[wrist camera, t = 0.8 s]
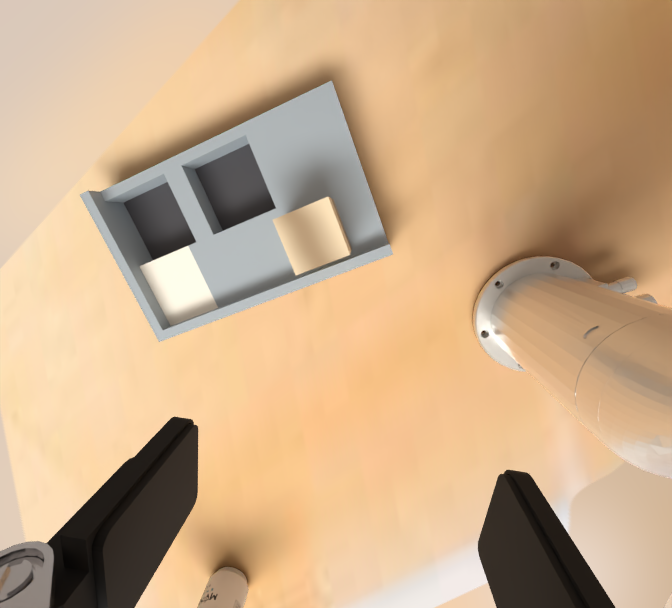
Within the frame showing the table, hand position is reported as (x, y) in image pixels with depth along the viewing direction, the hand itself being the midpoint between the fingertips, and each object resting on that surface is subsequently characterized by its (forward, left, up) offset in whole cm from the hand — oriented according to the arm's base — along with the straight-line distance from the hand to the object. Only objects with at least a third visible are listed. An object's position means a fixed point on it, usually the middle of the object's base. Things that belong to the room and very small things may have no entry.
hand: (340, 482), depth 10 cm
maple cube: (+1, -7, -24) cm, 25 cm away
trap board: (+8, -11, -27) cm, 31 cm away
